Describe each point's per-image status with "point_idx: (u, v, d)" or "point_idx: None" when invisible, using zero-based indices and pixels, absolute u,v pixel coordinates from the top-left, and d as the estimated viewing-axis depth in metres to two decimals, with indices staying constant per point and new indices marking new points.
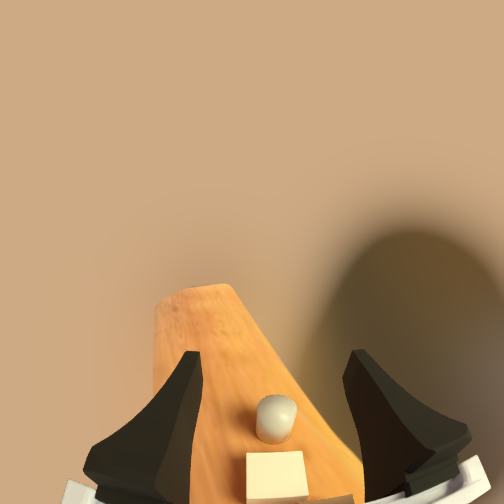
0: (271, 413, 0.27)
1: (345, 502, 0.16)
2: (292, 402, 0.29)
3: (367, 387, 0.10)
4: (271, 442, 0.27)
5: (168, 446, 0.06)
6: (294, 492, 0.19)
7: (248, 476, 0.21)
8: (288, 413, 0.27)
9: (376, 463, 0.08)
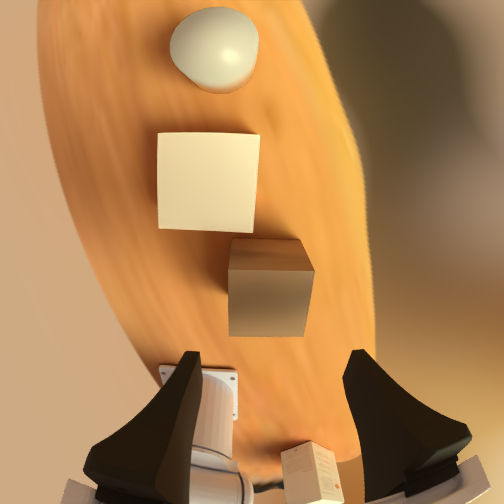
0: (198, 54, 0.11)
1: (299, 283, 0.16)
2: (251, 27, 0.10)
3: (367, 387, 0.10)
4: (212, 92, 0.16)
5: (168, 446, 0.06)
6: (231, 223, 0.17)
7: (160, 184, 0.16)
8: (236, 55, 0.11)
9: (376, 463, 0.08)
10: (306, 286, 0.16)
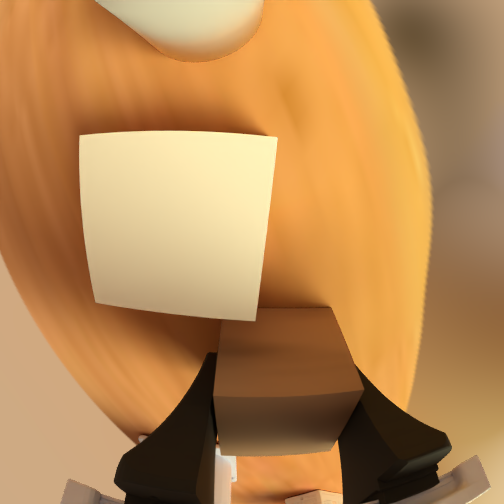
0: None
1: (336, 406, 0.08)
2: None
3: None
4: (183, 59, 0.08)
5: (203, 450, 0.06)
6: (216, 305, 0.09)
7: (88, 232, 0.08)
8: None
9: (353, 468, 0.08)
10: (346, 408, 0.08)
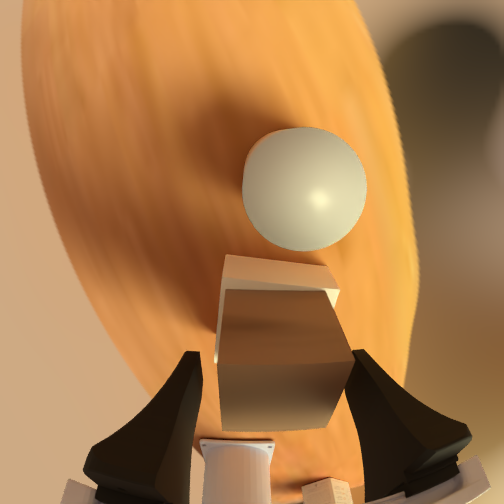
0: (285, 212, 0.10)
1: (330, 376, 0.10)
2: (359, 172, 0.09)
3: (367, 387, 0.10)
4: None
5: (168, 446, 0.06)
6: None
7: (220, 328, 0.15)
8: (336, 217, 0.10)
9: (376, 463, 0.08)
10: (339, 379, 0.10)
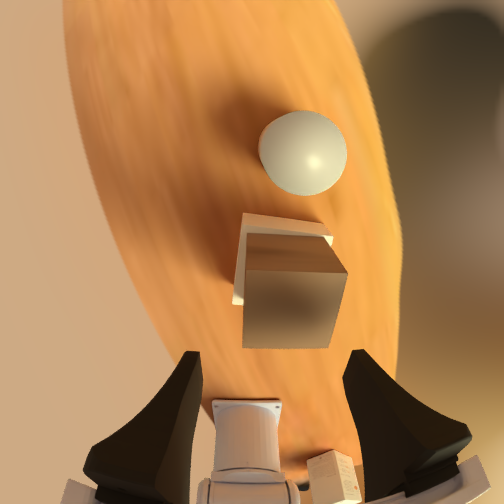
0: (290, 167, 0.14)
1: (329, 287, 0.14)
2: (340, 140, 0.13)
3: (367, 387, 0.10)
4: None
5: (168, 446, 0.06)
6: None
7: (239, 269, 0.19)
8: (326, 171, 0.14)
9: (376, 463, 0.08)
10: (337, 291, 0.14)
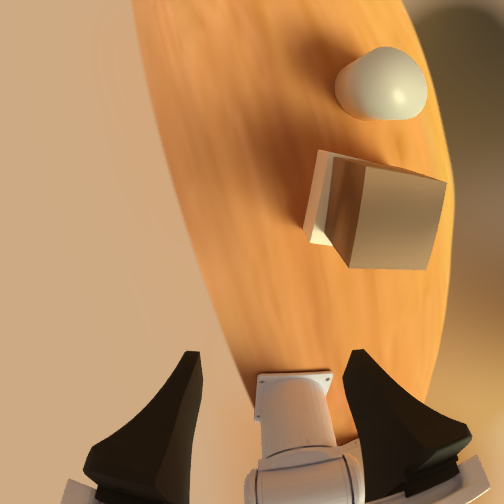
0: (385, 91, 0.12)
1: (433, 195, 0.12)
2: (421, 77, 0.11)
3: (367, 387, 0.10)
4: (358, 118, 0.17)
5: (168, 446, 0.06)
6: None
7: (321, 201, 0.17)
8: (413, 101, 0.12)
9: (376, 463, 0.08)
10: (438, 201, 0.12)
